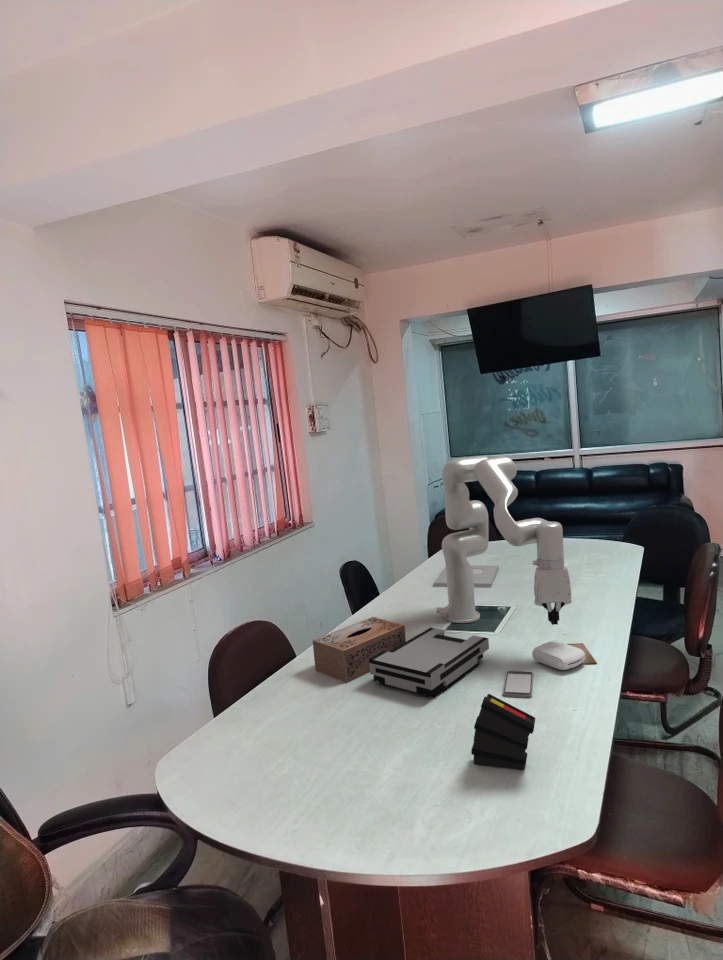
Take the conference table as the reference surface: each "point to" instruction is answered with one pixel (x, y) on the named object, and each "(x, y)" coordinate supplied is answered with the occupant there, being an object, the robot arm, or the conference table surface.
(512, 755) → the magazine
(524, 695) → the smartphone
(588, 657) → the board
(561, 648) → the photo printer
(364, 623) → the tissue box cover
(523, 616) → the conference table surface
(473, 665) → the game console
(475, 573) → the award plaque
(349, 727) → the conference table surface
